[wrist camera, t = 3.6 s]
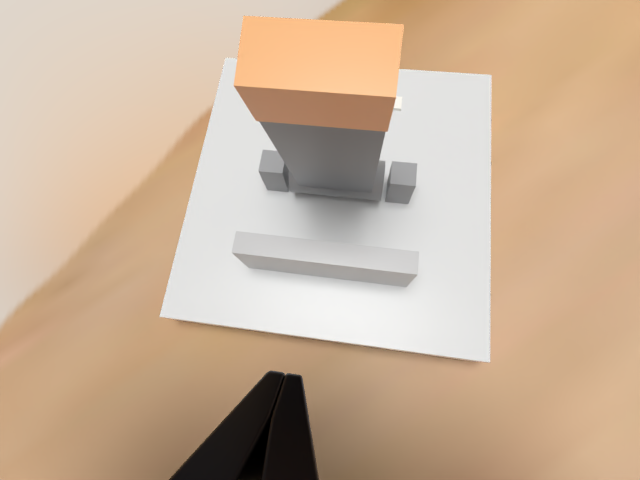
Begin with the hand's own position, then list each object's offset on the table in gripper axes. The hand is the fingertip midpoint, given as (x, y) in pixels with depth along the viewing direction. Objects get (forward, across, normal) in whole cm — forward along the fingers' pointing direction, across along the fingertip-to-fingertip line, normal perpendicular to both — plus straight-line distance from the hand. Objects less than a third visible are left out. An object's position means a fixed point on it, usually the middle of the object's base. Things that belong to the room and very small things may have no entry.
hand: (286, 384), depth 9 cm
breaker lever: (+12, 0, -1) cm, 12 cm away
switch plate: (+14, 0, +1) cm, 14 cm away
